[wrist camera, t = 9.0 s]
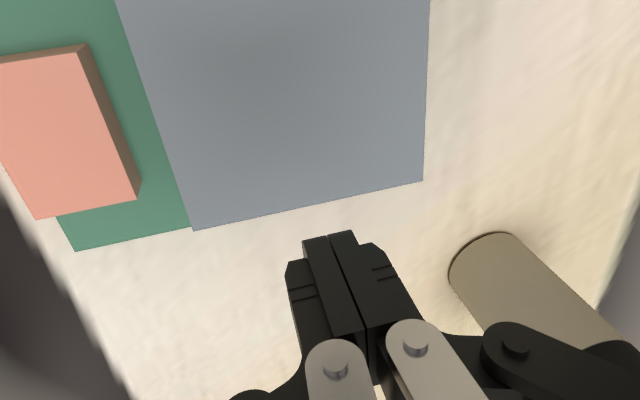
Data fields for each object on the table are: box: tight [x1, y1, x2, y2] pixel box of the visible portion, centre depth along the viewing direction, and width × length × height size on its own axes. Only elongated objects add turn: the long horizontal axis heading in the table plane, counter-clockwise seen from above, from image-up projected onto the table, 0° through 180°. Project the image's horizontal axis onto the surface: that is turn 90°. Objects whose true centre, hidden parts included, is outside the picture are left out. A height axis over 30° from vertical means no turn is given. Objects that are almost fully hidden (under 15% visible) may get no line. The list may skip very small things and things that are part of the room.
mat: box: [0, 0, 191, 252], centre depth 25 cm, size 18×9×1 cm, turn 6°
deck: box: [114, 0, 430, 231], centre depth 26 cm, size 14×16×4 cm
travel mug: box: [449, 233, 640, 375], centre depth 34 cm, size 8×8×18 cm
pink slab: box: [0, 43, 142, 220], centre depth 24 cm, size 9×6×2 cm, turn 6°
